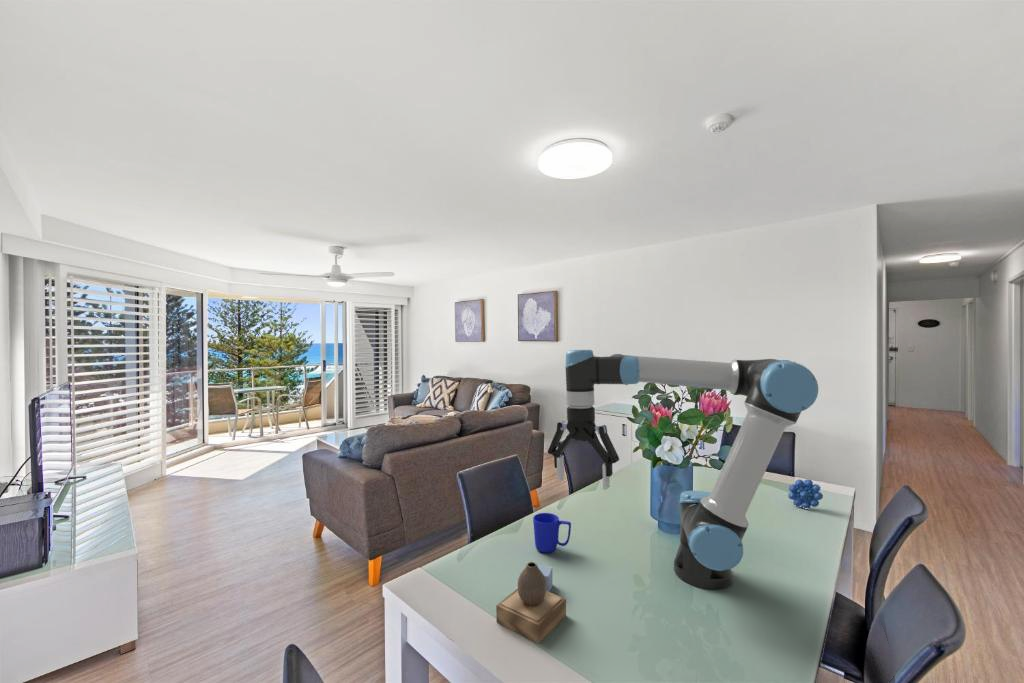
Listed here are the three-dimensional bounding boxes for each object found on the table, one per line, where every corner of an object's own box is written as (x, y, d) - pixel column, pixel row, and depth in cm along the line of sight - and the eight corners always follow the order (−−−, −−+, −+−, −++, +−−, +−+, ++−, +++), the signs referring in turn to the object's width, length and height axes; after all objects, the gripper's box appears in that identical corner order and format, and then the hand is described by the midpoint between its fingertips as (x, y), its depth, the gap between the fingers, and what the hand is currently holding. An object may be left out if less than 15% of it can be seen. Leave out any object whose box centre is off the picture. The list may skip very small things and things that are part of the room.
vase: (516, 593, 106) (516, 557, 106) (543, 591, 106) (543, 556, 106) (519, 610, 99) (519, 573, 99) (548, 609, 99) (548, 571, 99)
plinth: (566, 615, 104) (565, 597, 104) (538, 643, 94) (538, 624, 94) (525, 597, 111) (525, 581, 111) (496, 622, 101) (496, 604, 101)
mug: (570, 557, 131) (570, 525, 131) (531, 554, 134) (531, 522, 134) (571, 545, 139) (571, 514, 139) (535, 541, 142) (535, 511, 142)
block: (552, 585, 117) (552, 566, 117) (548, 595, 112) (548, 576, 112) (534, 582, 118) (534, 564, 118) (530, 592, 114) (530, 573, 114)
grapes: (826, 510, 167) (826, 479, 167) (821, 515, 162) (821, 483, 162) (791, 502, 176) (791, 472, 176) (786, 506, 171) (786, 476, 171)
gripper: (630, 407, 113) (632, 487, 113) (547, 401, 127) (550, 473, 127) (619, 411, 107) (622, 496, 107) (534, 405, 121) (536, 480, 121)
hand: (582, 484), depth 117 cm, fingers open, 13 cm apart
